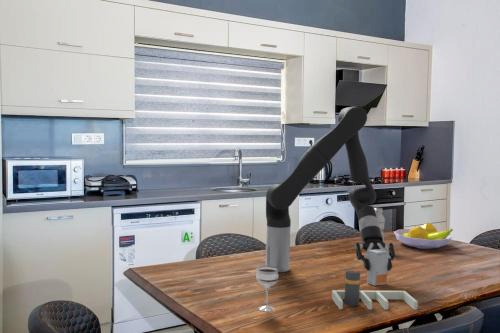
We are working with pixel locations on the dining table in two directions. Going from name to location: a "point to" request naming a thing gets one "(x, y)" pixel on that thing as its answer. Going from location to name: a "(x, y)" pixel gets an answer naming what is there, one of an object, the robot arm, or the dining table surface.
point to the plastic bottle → (380, 219)
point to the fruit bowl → (424, 236)
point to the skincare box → (377, 267)
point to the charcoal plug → (352, 288)
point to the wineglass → (267, 282)
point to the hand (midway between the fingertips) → (379, 269)
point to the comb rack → (378, 295)
